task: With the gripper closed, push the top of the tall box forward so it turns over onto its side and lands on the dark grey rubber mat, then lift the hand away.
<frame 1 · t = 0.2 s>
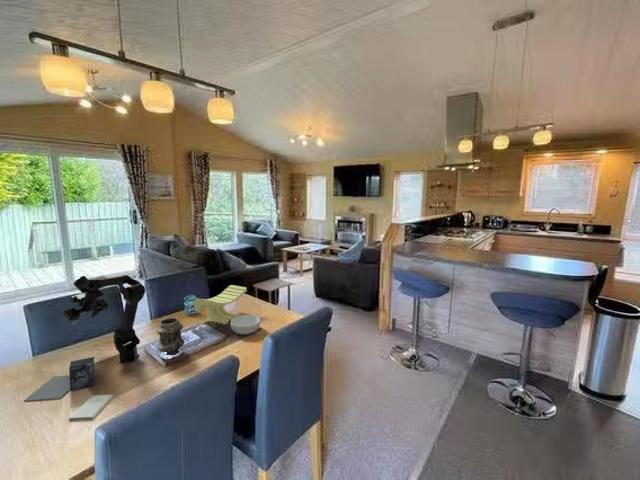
hand: (82, 320, 157), 15 cm above the table, tool tilted 30°, fingers open, 9 cm apart
slatted curved stool: (222, 318, 197), on the table
apothecary jar: (171, 354, 153), on the table
mat: (57, 387, 127), on the table
cereal bowl: (245, 332, 179), on the table
blue patterned cup: (191, 313, 206), on the table
box: (83, 385, 128), on the table, touching mat
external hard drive: (92, 409, 115), on the table
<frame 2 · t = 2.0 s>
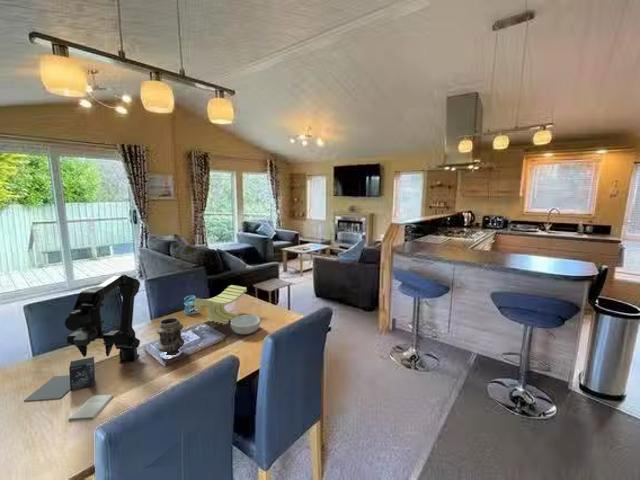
hand: (96, 356, 127), 13 cm above the table, tool pointing down, fingers open, 9 cm apart
nothing on the table moved.
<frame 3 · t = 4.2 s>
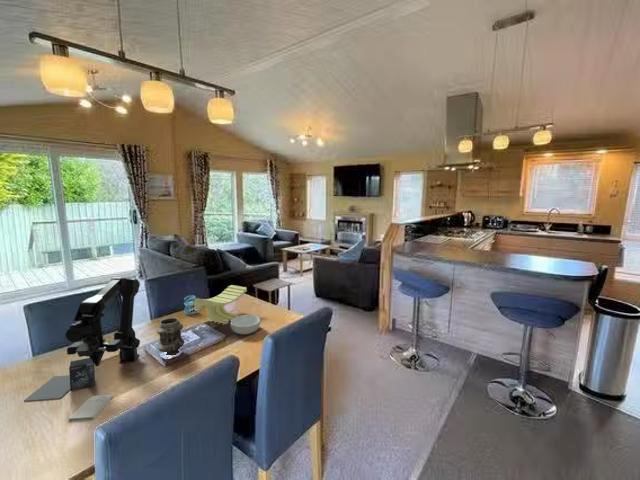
hand: (97, 365, 127), 9 cm above the table, tool pointing down, fingers closed
box: (83, 385, 128), on the table, touching gripper, mat
everything else where it was.
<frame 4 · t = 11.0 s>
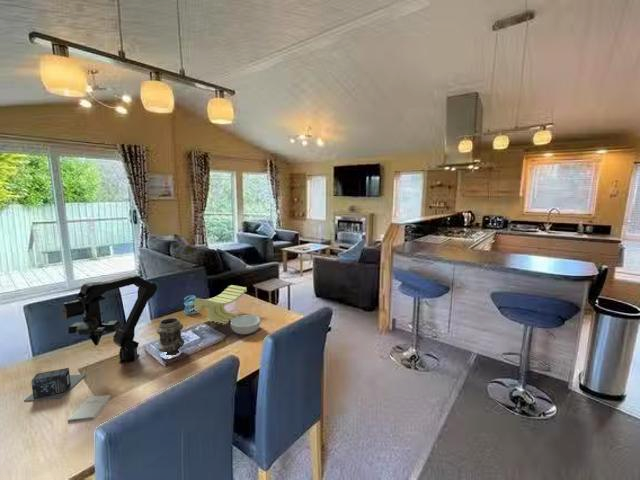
hand: (96, 344, 136), 13 cm above the table, tool pointing down, fingers closed
box: (68, 379, 125), point 4 cm above the table, touching mat
everything else where it was.
at the end: box tilted 90°; box touching mat; box inside the target area (3.0 cm from its centre), point 4.3 cm above the table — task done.
